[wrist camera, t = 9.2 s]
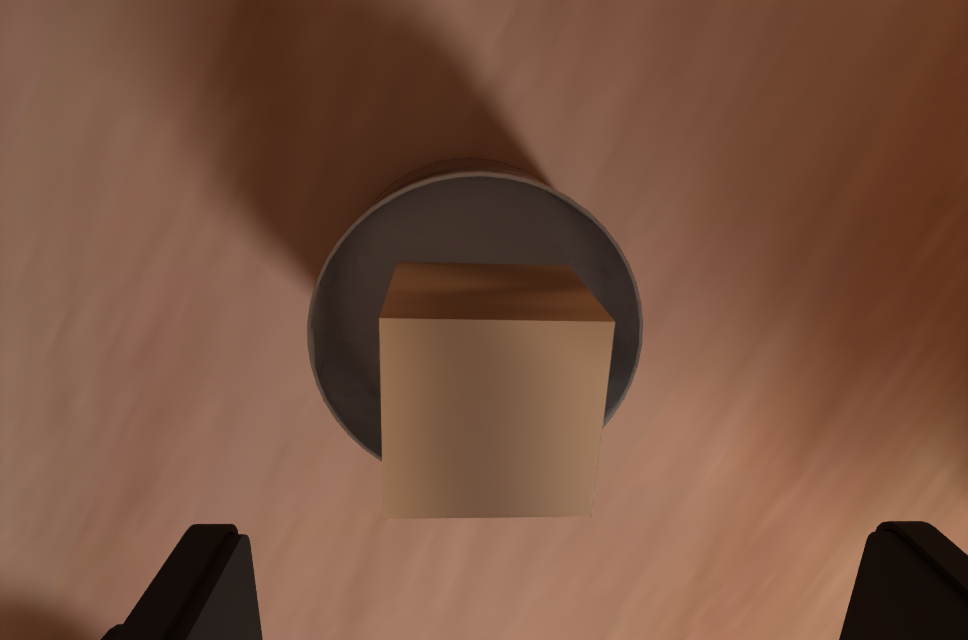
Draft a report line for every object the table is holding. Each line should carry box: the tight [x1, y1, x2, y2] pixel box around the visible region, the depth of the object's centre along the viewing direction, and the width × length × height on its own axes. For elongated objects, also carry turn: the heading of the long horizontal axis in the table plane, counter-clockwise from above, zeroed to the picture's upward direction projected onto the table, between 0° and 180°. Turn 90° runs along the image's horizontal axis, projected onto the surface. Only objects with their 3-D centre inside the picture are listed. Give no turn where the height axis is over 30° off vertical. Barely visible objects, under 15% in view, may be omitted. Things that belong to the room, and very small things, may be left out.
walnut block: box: [379, 262, 615, 519], centre depth 16 cm, size 5×5×5 cm
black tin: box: [307, 158, 643, 461], centre depth 21 cm, size 10×10×7 cm
